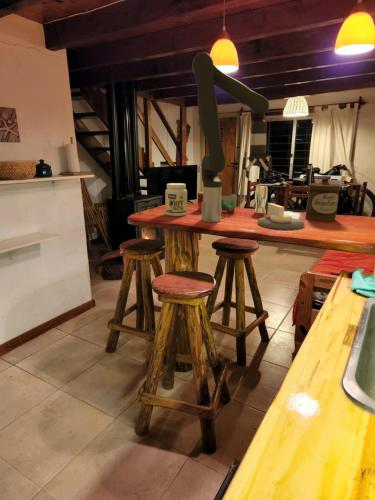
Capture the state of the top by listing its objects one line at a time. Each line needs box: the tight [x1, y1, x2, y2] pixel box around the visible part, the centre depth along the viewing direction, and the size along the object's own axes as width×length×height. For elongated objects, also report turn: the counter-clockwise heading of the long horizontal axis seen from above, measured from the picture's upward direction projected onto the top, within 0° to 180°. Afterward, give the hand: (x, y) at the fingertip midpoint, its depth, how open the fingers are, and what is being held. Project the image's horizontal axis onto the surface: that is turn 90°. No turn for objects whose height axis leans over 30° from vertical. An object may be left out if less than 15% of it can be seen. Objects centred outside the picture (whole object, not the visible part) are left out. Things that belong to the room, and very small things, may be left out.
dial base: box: [257, 216, 305, 231], centre depth 156 cm, size 22×22×2 cm
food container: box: [221, 193, 238, 214], centre depth 184 cm, size 12×6×10 cm, turn 143°
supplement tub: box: [164, 182, 188, 217], centre depth 177 cm, size 12×12×17 cm
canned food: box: [197, 190, 203, 212], centre depth 190 cm, size 8×8×11 cm
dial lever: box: [265, 202, 293, 223], centre depth 158 cm, size 18×10×7 cm, turn 15°
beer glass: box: [254, 185, 268, 214], centre depth 184 cm, size 7×7×15 cm
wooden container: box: [305, 176, 341, 223], centre depth 167 cm, size 15×15×22 cm
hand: (256, 178), depth 157 cm, fingers open, 8 cm apart
